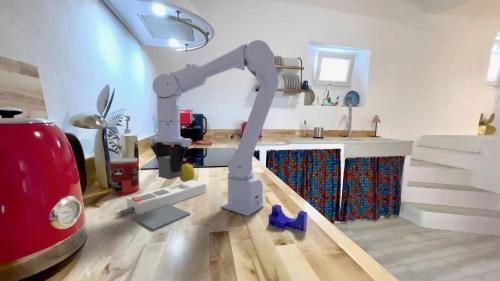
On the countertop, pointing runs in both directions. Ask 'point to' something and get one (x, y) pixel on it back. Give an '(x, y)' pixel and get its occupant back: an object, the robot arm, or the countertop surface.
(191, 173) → the lemon
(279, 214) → the cable holder
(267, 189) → the countertop surface
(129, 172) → the canned food
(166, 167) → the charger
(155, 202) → the strip
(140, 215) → the mat
